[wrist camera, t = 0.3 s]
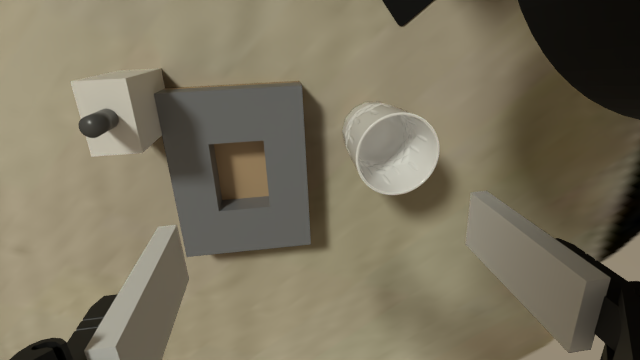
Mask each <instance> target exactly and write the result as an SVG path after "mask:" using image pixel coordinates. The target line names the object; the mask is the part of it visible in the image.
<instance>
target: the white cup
mask: <svg viewBox="0 0 640 360" xmlns="http://www.w3.org/2000/svg"><path fill="white" fill-rule="evenodd" d="M342 133H343V138H344V143H345V145H346V148H347V151H348V153H349V155H350V157H351V160H352V162H353V163H354V165H355V167H356V169H357V171H358V173H359V175H360V177H361V179H362V180H363V182H364V183H365V184H366V185H367V186H368V187H370V188H371V189H372V190H374V191H376V192H378V193H381V194H386V195H400V194H404V193H408V192H410V191H412V190H414V189H416V188H418V187H419V186H421V185H422V184H423V183H424V182H425V181H426V180H427V179H428V178H429V177H430V175H431V174H432V172H433V171H434V169H435V167H436V165H437V162H438V158H439V140H438V137H437V134H436V132H435V130H434V128H433V127H432V126H431V125H430V123H429V122H427V121H426V120H425V119H424V118H422V117H420V116H418V115H416V114H413V113H410V112H408V111H405V110H403V109H401V108H398V107H394V106H392V105H388V104H383V103H381V102H365V103H363V104H361V105H359V106H357V107H355V108H353V110H352V111H351V112H350V113H349V115H348V116H347V117H346V119H345V122H344V126H343V130H342Z"/></svg>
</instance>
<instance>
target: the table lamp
mask: <svg viewBox="0 0 640 360" xmlns="http://www.w3.org/2000/svg"><path fill="white" fill-rule="evenodd" d="M432 1H433V0H383V2H384V4H385V5H386V7H387V8H388V10H389V11H390V13H391V14H392V16H393V17H394V19H395V21H396V22H397V24H398V25H400V26H403V25H405V24H406V23H407V22H408V21H410V20H411V19H412V18H413V17H414V16H415V15H417V14H418V13H419V12H420V11H421V10H422V9H424V8H425V7H426V6H427V5H428V4H430V3H431V2H432ZM518 2H519V5H520V8H521V11H522V13H523V15H524V18H525V20H526V22H527V24H528V26H529V29H530V31H531V33H532V35H533V36H534V38H535V40H536V41H537V43H538V45H539V46H540V48H541V50H542V51H543V53H544V54H545V56H546V57H547V58H548V60H549V61H550V62H551V64H552V65H553V66H554V68H555V69H556V70H557V71H558V72H559V73H560V74H561V75H562V76H563V77H564V78H565V79H566V80H567V81H568V82H569V83H570V84H571V85H572V86H573V87H574V88H576V89H577V90H578V91H579V92H581V93H582V94H583V95H584V96H586V97H587V98H589V99H590V100H592V101H594V102H596V103H597V104H599V105H601V106H603V107H604V108H607V109H609V110H612V111H614V112H616V113H619V114H621V115H624V116H628V117H632V118H636V119H639V120H640V0H518Z"/></svg>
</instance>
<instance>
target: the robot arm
mask: <svg viewBox="0 0 640 360" xmlns="http://www.w3.org/2000/svg"><path fill="white" fill-rule="evenodd" d="M466 245H467V246H468V248H469V249H470V250H471V251H472V252H473V253H474V254H475V255H476V256H477V257H478V258H479V259H480V260H481V261H482V262H483V263H484V264H485V265H486V266H487V268H488V269H489V270H490V271H491V272H492V273H493V274H494V275H495V276H496V277H497V278H498V279H499V280H500V281H501V282H502V283H503V284H504V285H505V286H506V288H507V289H508V290H509V291H510V292H511V293H512V294H513V295H514V296H515V297H516V298H517V299H518V300H519V301H520V302H521V303H522V304H523V305H524V306H525V308H526V309H527V310H528V311H529V312H530V313H531V314H532V315H533V316H534V317H535V318H536V319H537V320H538V321H539V322H540V323H541V324H542V325H543V326H544V328H545V329H546V330H547V331H548V332H549V333H550V334H551V335H552V336H553V337H554V338H555V339H556V340H557V341H558V342H559V343H560V344H561V345H562V346H563V348H565V350H567V352H568V353H572V352H578V351H584V350H591V347H592V343H593V340H594V336H595V334H596V335H597V336H598V337H599V338H600V339H601V340H602V341H604V343H605V346H604V349H603V353H602V356H601V359H600V360H640V282H639V281H630V282H628V281H626V280H625V279H624V278H622V277H620V276H619V275H617V274H616V273H614V272H613V271H612V270H610V269H609V268H607V267H606V266H604V265H603V264H601V263H600V262H598V261H595V259H594V258H593V257H591V256H590V255H588V254H585V252H584V251H582V250H581V249H579V248H578V247H576V246H575V245H573V244H571V243H569V242H566V241H564V240H561V239H559V238H556V239H555V238H553V237H552V236H550V235H549V234H547V233H546V232H545V231H543V230H542V229H540V228H539V227H537V226H536V225H535V224H533V223H532V222H530V221H529V220H527V219H526V218H525V217H523V216H522V215H520V214H519V213H517V212H516V211H515V210H513V209H512V208H510V207H509V206H508V205H506V204H505V203H503V202H502V201H500V200H499V199H498V198H496V197H495V196H493V195H492V194H490V193H489V192H488V191H480V192H471V195H470V205H469V215H468V225H467V235H466ZM188 280H189V276H188V272H187V267H186V263H185V259H184V254H183V250H182V246H181V241H180V237H179V232H178V228H177V225H170V226H161V227H158V228H157V229H156V231H155V233H154V234H153V236H152V238H151V239H150V241H149V243H148V245H147V246H146V248H145V250H144V251H143V253H142V255H141V256H140V258H139V260H138V261H137V263H136V265H135V266H134V268H133V270H132V271H131V273H130V275H129V276H128V278H127V280H126V281H125V283H124V285H123V286H122V288H121V290H120V291H119V293H118V294H117V295H109V296H104V297H102V298H101V299H100V300H99V301H98V302H96V303H95V304H94V305H93V306H92V307H91V308H90V309H89V311H88V312H87V314H86V315H85V317H84V318H83V321H81V323H80V324H79V326H78V327H77V330H76V331H75V332H74V333H73V335H72V336H71V338H70V339H69V341H68V342H67V343H66V342H65V341H64V340H63V339H61V338H50V339H45V340H41V341H38V342H36V343H33V344H31V345H29V346H27V347H26V348H24V349H22V350H21V351H19V352H18V353H17V354H15V355H14V356H13V357H12V358H11V359H10V360H162V357H163V354H164V351H165V348H166V345H167V342H168V339H169V337H170V334H171V331H172V328H173V325H174V322H175V319H176V316H177V313H178V310H179V307H180V304H181V301H182V298H183V295H184V292H185V289H186V286H187V283H188Z"/></svg>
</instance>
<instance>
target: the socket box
mask: <svg viewBox="0 0 640 360" xmlns="http://www.w3.org/2000/svg"><path fill="white" fill-rule="evenodd" d="M154 98H155V103H156V108H157V113H158V118H159V123H160V127H161V132H162V137H163V142H164V147H165V152H166V157H167V162H168V167H169V172H170V177H171V182H172V187H173V192H174V196H175V201H176V206H177V211H178V216H179V221H180V226H181V231H182V236H183V241H184V246H185V251H186V256H187V257H191V256H201V255H211V254H221V253H231V252H240V251H250V250H260V249H270V248H280V247H290V246H300V245H309V244H311V238H310V220H309V202H308V185H307V167H306V149H305V131H304V113H303V95H302V85H301V83H300V82H299V81H291V82H273V83H255V84H236V85H218V86H200V87H182V88H165V89H163V90H161V91H159V92H156V93H154Z"/></svg>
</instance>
